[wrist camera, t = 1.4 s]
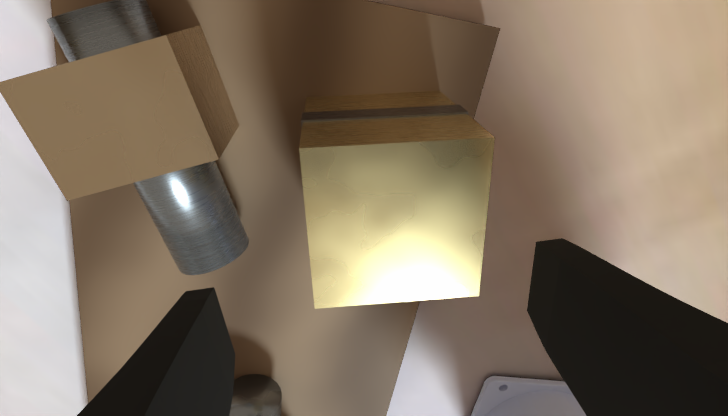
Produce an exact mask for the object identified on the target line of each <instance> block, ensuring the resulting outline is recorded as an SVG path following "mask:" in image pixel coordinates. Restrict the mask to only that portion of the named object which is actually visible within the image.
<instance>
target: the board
mask: <svg viewBox="0 0 728 416" xmlns="http://www.w3.org/2000/svg"><path fill="white" fill-rule="evenodd" d="M108 1H113V0H51V9H52V17H55V16H58V15H60V14H64V13H67V12H70V11H73V10H77V9H80V8H84V7H88V6H92V5H96V4H100V3H104V2H108ZM146 1H147V3H148V6H149V8H150V10H151V13H152V15H153V17H154V20H155V22H156V24H157V27H158V29H159V31H160V34H161V36H164V35H167V34H171V33H174V32H178V31H181V30H185V29H188V28H192V27H195V26H199V25H201V27H202V30H203V32H204V35H205V38H206V40H207V43H208V45H209V48H210V50H211V53H212V56H213V58H214V61H215V63H216V66H217V68H218V71H219V74H220V76H221V79H222V81H223V84H224V87H225V89H226V92H227V94H228V97H229V99H230V102H231V105H232V107H233V110H234V112H235V115H236V117H237V120H238V123H239V127H238V129H237V130H236V132H235V134H234V135H233V137H232V139H231V140H230V142H229V143H228V145H227V147H226V148H225V150H224V152H223V153H222V155H221V157H220V158H219V160H215V162H216V164H217V167H218V169H219V171H220V174H221V176H222V178H223V181H224V183H225V185H226V188H227V190H228V192H229V195H230V197H231V199H232V202H233V204H234V206H235V208H236V211H237V213H238V215H239V218H240V220H241V222H242V225H243V227H244V229H245V232H246V234H247V236H248V239H249V244H248V247H247V248H246V250H245V251H244V252H243V253H242V254H241V255H240V256H239V257H238V258H236V259H235V260H234V261H232V262H231V263H229V264H227V265H226V266H224V267H222V268H219V269H217V270H215V271H212V272H209V273H205V274H200V275H185V274H183V273H181V272H180V271H179V269H178V267H177V265H176V263H175V261H174V260H173V258H172V256H171V254H170V252H169V250H168V248H167V246H166V245H165V243H164V241H163V239H162V237H161V235H160V233H159V231H158V229H157V228H156V226H155V224H154V222H153V220H152V218H151V216H150V214H149V212H148V211H147V209H146V207H145V205H144V203H143V201H142V199H141V197H140V195H139V194H138V192H137V190H136V188H135V186H134V184H133V183H131V184H127V185H123V186H120V187H116V188H112V189H109V190H105V191H101V192H98V193H94V194H90V195H87V196H83V197H79V198H76V199H72V200H69V202H70V213H71V223H72V234H73V245H74V256H75V266H76V277H77V288H78V298H79V309H80V320H81V331H82V341H83V352H84V363H85V374H86V384H87V395H88V403H89V402H90V401H91V400H92V399H93V398H94V397H95V396H96V395H97V394H98V393H99V392H100V390H101V389H102V388H103V387H104V386H105V385H106V384H107V383H108V382H109V381H110V380H111V379H112V377H113V376H114V375H115V374H116V373H117V372H118V371H119V370H120V369H121V368H122V366H123V365H124V364H125V363H126V362H127V361H128V359H129V358H130V357H131V356H132V355H133V354H134V352H135V351H136V350H137V349H138V348H139V347H140V345H141V344H142V343H143V342H144V341H145V339H146V338H147V337H148V336H149V335H150V333H151V332H152V331H153V330H154V329H155V327H156V326H157V325H158V324H159V323H160V321H161V320H162V319H163V318H164V316H165V315H166V314H167V313H168V312H169V310H170V309H171V308H172V307H173V306H174V304H175V303H176V302H177V301H178V300H179V298H180V297H181V296H182V295H183V294H184V293H185V291H191V290H198V289H205V288H212V287H214V288H215V291H216V295H217V298H218V301H219V304H220V307H221V310H222V314H223V317H224V320H225V323H226V326H227V329H228V332H229V336H230V339H231V342H232V345H233V348H234V351H235V370H234V380H235V379H236V378H239V377H241V376H244V375H249V374H261V375H265V376H268V377H270V378H272V379H273V380H275V381H276V382H277V383H278V385H279V386H280V388H281V392H282V405H281V416H386V414H387V411H388V408H389V404H390V401H391V397H392V394H393V391H394V387H395V384H396V381H397V377H398V374H399V370H400V367H401V364H402V360H403V357H404V353H405V350H406V347H407V343H408V340H409V336H410V333H411V330H412V326H413V323H414V319H415V316H416V313H417V309H418V306H419V302H420V301H408V302H395V303H383V304H370V305H357V306H344V307H331V308H319V309H315V307H314V297H313V287H312V276H311V266H310V256H309V245H308V235H307V225H306V215H305V204H304V194H303V184H302V173H301V163H300V153H299V145H300V138H301V131H302V127H301V117H302V112H304V110H305V103H306V97H321V96H342V95H363V94H383V93H404V92H425V91H441V92H442V93H443V94H444V95H445V96H446V97H448V98H449V99H450V100H451V101H452V102H454V103H455V104H456V105H461V106H462V107H463V108H464V109H465V110H467V111H468V115H469V116H470V117H471V118H472V119H474V116H475V112H476V109H477V105H478V102H479V99H480V95H481V92H482V88H483V85H484V82H485V78H486V75H487V72H488V68H489V65H490V61H491V58H492V55H493V51H494V48H495V44H496V41H497V38H498V34H499V31H500V28H496V27H492V26H487V25H482V24H477V23H472V22H468V21H463V20H458V19H453V18H449V17H444V16H439V15H434V14H429V13H425V12H420V11H415V10H410V9H405V8H401V7H396V6H391V5H386V4H381V3H377V2H372V1H367V0H146ZM54 41H55V52H56V63H57V66H58V65H62V64H65V63H69V61H68V60H67V58H66V56H65V54H64V52H63V50H62V48H61V46H60V44H59V43H58V41H57V39H56V37H55V35H54Z"/></svg>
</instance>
